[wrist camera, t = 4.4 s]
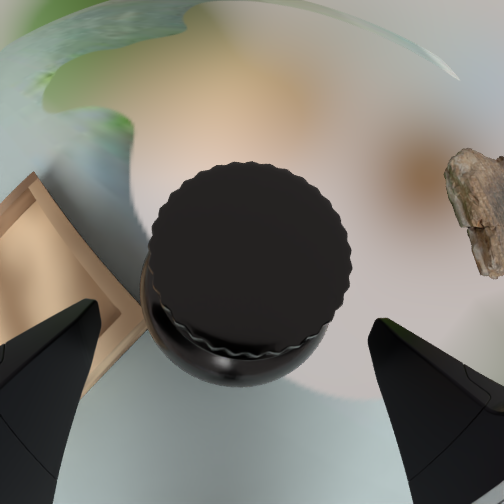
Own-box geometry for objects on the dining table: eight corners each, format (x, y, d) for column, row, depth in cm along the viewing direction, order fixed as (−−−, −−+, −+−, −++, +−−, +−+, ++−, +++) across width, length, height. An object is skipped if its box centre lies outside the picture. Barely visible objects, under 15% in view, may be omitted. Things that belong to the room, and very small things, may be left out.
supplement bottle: (174, 261, 18) (139, 121, 7) (280, 269, 19) (369, 148, 8) (165, 371, 16) (87, 386, 5) (280, 377, 17) (399, 390, 6)
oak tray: (20, 464, 11) (2, 471, 9) (-61, 319, 13) (-79, 312, 11) (155, 320, 17) (148, 313, 15) (46, 188, 19) (33, 171, 17)
